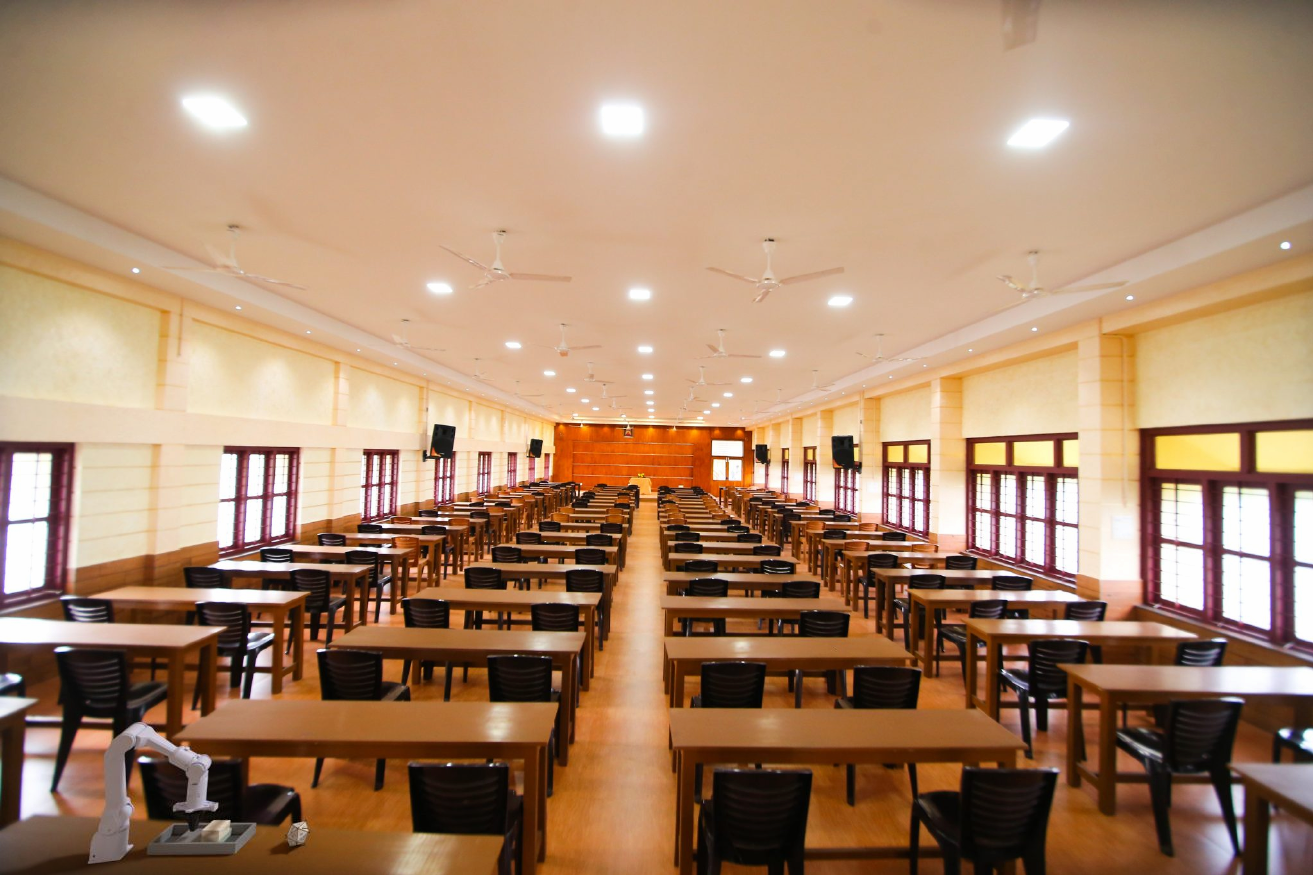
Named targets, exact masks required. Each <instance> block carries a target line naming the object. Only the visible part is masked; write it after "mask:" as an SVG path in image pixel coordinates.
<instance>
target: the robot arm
mask: <svg viewBox="0 0 1313 875" xmlns="http://www.w3.org/2000/svg"><path fill="white" fill-rule="evenodd" d="M133 747H134V749H133V750H138V749H143V748H150V749H152V750H153V751H155V752H158V753H160V754H162V755H164V756H167V757H168V762H169V763H170V764H172V765H174V766H176V767H178V768H180V769H181V770H183V771H184V772H185V776H186V778H188V782H187V789H186V790H187V792H186V801H185V802H184V801H183V802H177V803H175V804H174V805H173V807H172V811H173V812H177V811H185V812H184V814H183V818H184V819H185V820H186V823H188V825H189V829H190V832H194V831H195V830H196V829H197V828H198V825H199V823H201V820H202V817H203V816H204V815H205V812H206V811H211V812H216V810H217V809H218V808H219V802H214V801H209V800H207V790H208V789H207V788H208V780H209V770H208V769H209V768H210V767H211V765H212V758H211V757H210V756H209V754H200V753H199V754H198V753H197V752H194V751H192V750H191V748H190V747H189V746H184V745H182V746H177V745H174V744H173V743H172V742H170V741H169V740H167V739H166V738H164V737H163V736H162V735H160V734H158V733H157V732H156V731H155V730H154V728H153V727H152V726H149V725H148V724H146V723H145V722H141V721H139V722H134V723H133V724H131V725H130V726H128V727H127V728H126V729H125V730H124V731H122V733H120V734H119V735H117V736H116V737H114V739H112V740H111V741H110V744H109V746H108V747H107V749H106V750H105V752H104V754H103V768H104V770H103V771H104V773H103V774H104V790H105V791H104V793H105V806H104V809H103V811H102V813H101V817H100V822H99V823H98V829H97V831H96V832H95V833H94V835H93V836H92V838H91V841H90V847H89V848H90V849H89V859H88V861H87V864H88V865H89V864H90V865H91V864H97V863H98V864H99V863H106V862H112V861H113V862H114V861H121V859H123V858H124V856H126V855H127V853H128V852H129V851H130V850H131V849H132V848H133V847H134V844H133V843H132V844H129V835H130V834H129V833H130V832H129V831H130V818H131V817H132V816H133V814H134V812H135V807H134V805H133V804H132V802H131V798H130V797H129V796H127V782H126V762H125V761H126V760H125V759H126V757H125V755H126V754H125V753H126V752H127V751H129V750H131V749H132V748H133Z"/></svg>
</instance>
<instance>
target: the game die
mask: <svg viewBox="0 0 1313 875" xmlns="http://www.w3.org/2000/svg"><path fill="white" fill-rule="evenodd" d="M307 821H308V818H306V819H305V820H304V821H301V822H299V821H298V822H296V823H292V822H290V827H289V829H288V831H287V834H285V835H284V839H286V840H287V843H288V845H289V846H288V848H287V849H288V850H289V849H290V848H291V847H294V846H298V845H299V846H300V845H302V844H303V846H306V843H305V842H306V840H307V838H308V836H309V833H311V832H312V831H311V830H308V829H302V828H309V826H308V823H307Z"/></svg>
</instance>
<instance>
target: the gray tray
mask: <svg viewBox="0 0 1313 875" xmlns="http://www.w3.org/2000/svg"><path fill="white" fill-rule="evenodd" d="M210 823H211V822H210ZM210 823H209V822H208V823H207V822H199V825H198V828H197V829H196V830H195V831H194V832H190V829H189V825H188V823H187V822H185V823H180V822H179V823H178V822H177V823H176V822H175V823H172V824H170V826H168V827H167V828H165V829H164V830H163V831H162V832H160V834H157V836H156V837H155V838H153V839H152V840H151V841H150V842H149V843H148V844H147V848H146V855H147V856H165V855H166V856H170V855H171V856H175V855H176V856H178V855H180V856H181V855H184V856H185V855H192V856H193V855H236V854H237V853H238V851H240V849H241V848H243V846H244V845H245V844H247V842H248V841H249V840H250V839H252V837H253V836H254V835H255V834H256V833H257V832H256V830H257V822H230V830H229V832H228V833H227V834H226V835H225V836H224V837H223V838H222V839H221V840H220V841H219V842H201V837H202V830H203V829H204V828H205V827H206V826H208V825H209V824H210ZM249 826H250V827H249ZM255 827H256V828H255ZM252 835H253V836H252Z"/></svg>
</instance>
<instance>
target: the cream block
mask: <svg viewBox="0 0 1313 875" xmlns="http://www.w3.org/2000/svg"><path fill="white" fill-rule="evenodd" d="M230 823H231V820H230V819H229V820H228V819H225V820H224V819H223V820H221V819H217V820H215V819H214V820H212V821H211V822H210V824H209V825H208V826H206V827H205V828H204V829H203V830H202V837H201V842H219V841H220V840H221V839H222V838H223V837H224V836H225V835H226V834H227V833H228V832H229V830H230Z"/></svg>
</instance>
